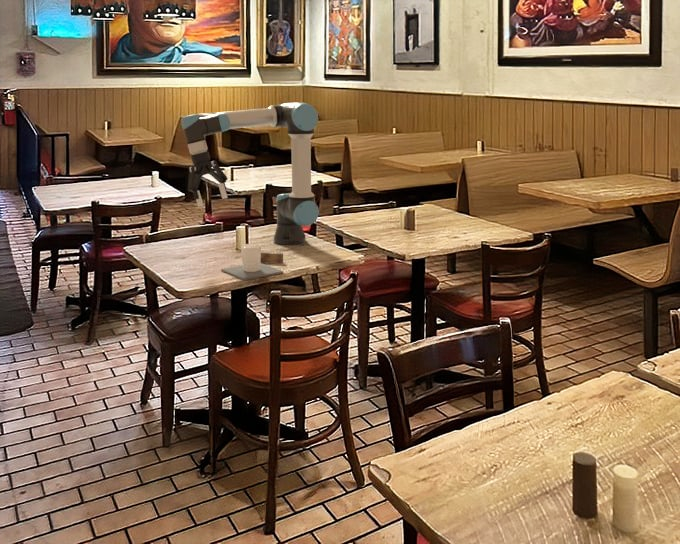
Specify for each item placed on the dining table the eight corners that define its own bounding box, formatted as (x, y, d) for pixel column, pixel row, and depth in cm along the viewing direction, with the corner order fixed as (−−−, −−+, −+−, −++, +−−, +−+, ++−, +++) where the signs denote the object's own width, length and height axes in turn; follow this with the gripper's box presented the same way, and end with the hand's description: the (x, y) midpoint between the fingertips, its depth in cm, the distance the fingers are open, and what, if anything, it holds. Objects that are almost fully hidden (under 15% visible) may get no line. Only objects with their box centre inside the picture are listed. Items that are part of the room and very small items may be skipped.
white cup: (239, 268, 304) (238, 244, 301) (258, 266, 307) (257, 242, 304) (244, 273, 296) (244, 248, 294) (264, 271, 300) (263, 246, 297)
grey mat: (259, 264, 314) (259, 262, 314) (283, 273, 300) (282, 271, 300) (221, 270, 304) (221, 269, 303) (243, 280, 290) (243, 278, 289)
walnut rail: (250, 261, 319) (250, 252, 318) (252, 260, 321) (252, 251, 320) (281, 263, 315) (281, 254, 314) (283, 262, 317) (282, 253, 316)
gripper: (215, 147, 322) (228, 196, 327) (170, 160, 305) (184, 210, 309) (227, 145, 317) (240, 194, 322) (181, 157, 300) (196, 209, 304)
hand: (213, 202), depth 316 cm, fingers open, 13 cm apart
